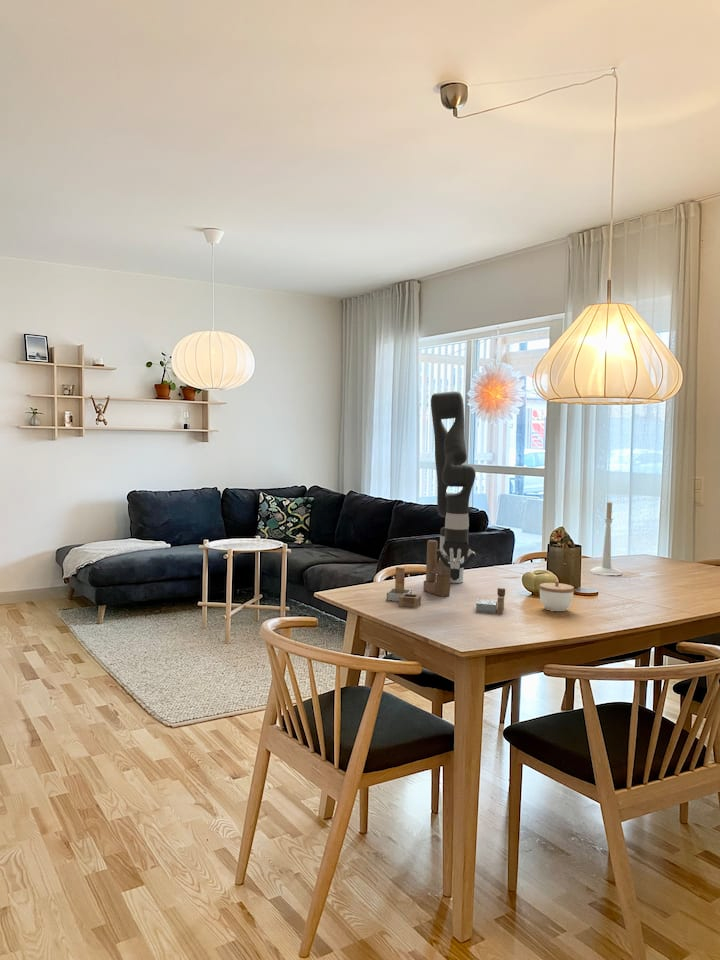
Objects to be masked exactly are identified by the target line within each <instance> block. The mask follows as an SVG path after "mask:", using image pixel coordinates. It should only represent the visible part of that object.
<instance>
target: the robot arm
mask: <svg viewBox="0 0 720 960" xmlns="http://www.w3.org/2000/svg"><path fill="white" fill-rule="evenodd" d="M464 407H465V405H464V399H463V395H462V393H461V392H460V391H443V392H436V393H435V392H434V393H433V394H432V395H431V398H430V410H431V418H432V426H433V434H434V435H433V436H434V459H435V470H436V485H437V486H436V487H437V489H436V491H437V492H436V493H437V496H436V498H437V499H436V500H437V501H436V502H437V504H436V505H437V506H436V507H437V512H438V515H439V516H440V517H441V518H445V521H444V526H443V527H441V528H440V532H439V533H440V535H439V549H437V552H436V553H437V557H438V559H439V560H440V559H441V560H442V562H443V563H444V565H445V566H446V567H449V568H450V569H451V573H450V584H460V583H463V582H464V569H465V567H466V566H468V564H469V563H470V562H471V561H472V559H473V558H474V557H475V556H476V552H475V551H473V550H472V549H471V547H470V545H469V527H470V517H469V509H470V508H469V507H470V506H469V505H470V504H469V503H470V497H471V492H472V490H473V487H474V483H475V481H476V469H475V468H474V467H473V466H472V465H471V464H464V463H466V461H467V459H468V457H467V449H466V441H465V408H464ZM449 419H450V420H451V419H454V421H453V423H452V425H451V427H450V429H449V430H447V429H446V427H445V425H444V424H443V420H449ZM448 487H451V488H452V487H454V488H455V487H457V488H459V487H460V488H462V489H461V490H460V491H459V492H457V493H456V492H455V493H454V492H453V493H452V492H447V489H448ZM446 555H448V556H449V557H450V562H449V561H448V560H447V558H446V557H445V556H446ZM466 555H467V557H466V559H465V556H466ZM439 560H438V561H439Z"/></svg>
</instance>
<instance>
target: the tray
mask: <svg viewBox="0 0 720 960" xmlns="http://www.w3.org/2000/svg"><path fill="white" fill-rule="evenodd" d="M404 593H407V594H413V590H412V589H406V588H404ZM401 595H402V594H397V593H395V587H394V588H390V589H388V591H387V592H386V599H385V601H387V600H392V601H391V602H398V601H399V597H400V596H401Z"/></svg>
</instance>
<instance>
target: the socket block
mask: <svg viewBox="0 0 720 960" xmlns="http://www.w3.org/2000/svg"><path fill="white" fill-rule="evenodd" d="M421 603H422V594H419V593H412V594H407V593H403V594H402V595H401V596H400V597H399V602H398V607H403V606H407V607H406V608H414V607H418V606H419V607H420V605H421ZM419 607H418V608H419Z"/></svg>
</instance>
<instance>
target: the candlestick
mask: <svg viewBox="0 0 720 960" xmlns="http://www.w3.org/2000/svg"><path fill="white" fill-rule="evenodd" d="M612 511H613V502H611V501H607V502H606V517H604V520H605V522H604V523H605V524H606V525H605V530H604V531H605V532H604V534H605V535H604V541H603V551H602V559H601V560H602V561H601V566H596V567H593V568H591V569H590V570H589V572H590V571H592V572H597V573H620V572H622V571H621V570H620V569H618V568H616V567H612V555H611V553H612V548H611V547H612V545H611V544H612V532H611V531H612V526H611V525H612V523H613V520H614V518H612V515H613V514H612Z"/></svg>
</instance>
